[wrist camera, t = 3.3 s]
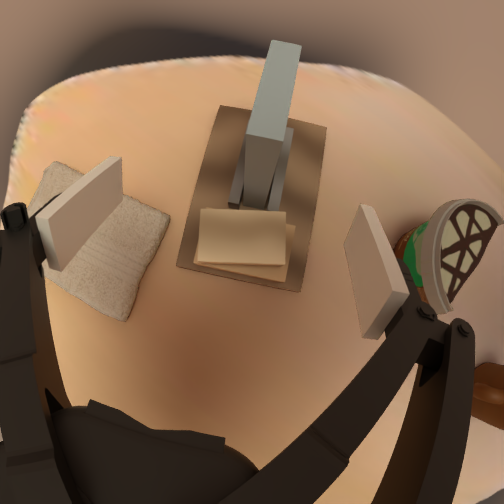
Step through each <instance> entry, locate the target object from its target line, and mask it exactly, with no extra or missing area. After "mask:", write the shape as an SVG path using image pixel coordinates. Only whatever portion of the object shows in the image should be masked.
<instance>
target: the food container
mask: <svg viewBox="0 0 504 504" xmlns="http://www.w3.org/2000/svg"><path fill="white" fill-rule="evenodd" d="M501 224H504V220H503V218H502V217H501V216H500V214H499V213H498V212H497V211H496V210H495V209H494V208H493V207H491V206H490V205H488V204H487V203H485V202H482V201H479V200H475V199H459V200H452V201H449V202H447V203H445V204H443V205H442V206H441V207H439V208H438V209H437V211H436V212H435V213H434V214H433V216H432V217H431V219H430V220H429V221H427V222H426V223H424V224H422V225H420V226H418V227H417V228H415V229H413V230H411V231H409V232H408V233H406V234H404V235H403V236H402V237H401V238H400V239H399V241H398V242H397V244H396V246H395V248H394V250H393V253H394V255H395V257H396V258H399V259H402V260H403V261H404V263H405V264H406V265H407V266H408V268H409V270H410V273H411V276H412V277H413V280H414V282H415V285H416V287H417V290H418V292H419V295H420V297H421V300H422V301H424V302H426V303H427V304H429V305H430V306H431V307H432V308H433V309H434V310H435V312H436V314H437V315H438V314H445V313H447V312H448V311H453V308H452V307H451V305H450V304H451V302H452V301H453V299H454V297H455V296H456V294H457V293H458V291H459V290H460V288H461V287H462V285H463V284H464V283H465V281H466V280H467V278H468V277H469V276H470V275H471V273H472V272H473V271H474V269H475V268H476V266H477V265H478V264H479V262H480V260H481V258H482V256H483V254H484V252H485V249H486V247H487V245H488V243H489V241H490V239H491V237H492V235H493V233H494V232H495V230H496V228H497V226H499V225H501Z"/></svg>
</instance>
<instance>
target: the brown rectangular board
mask: <svg viewBox="0 0 504 504" xmlns="http://www.w3.org/2000/svg"><path fill="white" fill-rule="evenodd" d="M251 113H252V110H246V109H241V108H235V107H228V106H222V105H220V107H219V110H218V113H217V116H216V119H215V123H214V126H213V129H212V132H211V135H210V139H209V142H208V145H207V149H206V152H205V155H204V159H203V162H202V166H201V169H200V173H199V176H198V180H197V183H196V187H195V191H194V194H193V198H192V202H191V206H190V210H189V213H188V217H187V221H186V225H185V229H184V233H183V238H182V242H181V246H180V250H179V254H178V259H177V263H176V266H178V267H182V268H186V269H191V270H195V271H200V272H204V273H209V274H213V275H218V276H223V277H227V278H232V279H237V280H241V281H246V282H251V283H256V284H261V285H265V286H270V287H275V288H280V289H285V290H290V291H295V292H301V287H302V282H303V277H304V272H305V266H306V261H307V256H308V250H309V244H310V239H311V233H312V227H313V221H314V215H315V209H316V202H317V196H318V189H319V182H320V176H321V169H322V161H323V154H324V146H325V138H326V130H327V127H323V126H319V125H315V124H312V123H308V122H303V121H299V120H295V119H291V118H288V120H287V125H286V130H285V135H284V140H283V144H282V148H281V151H280V154H279V158H278V161H277V165H276V168H275V172H274V175H273V179H272V182H271V185H270V189H269V192H268V196H267V199H266V203H265V206H264V210H262V209H257V208H252V207H247V206H243V194H244V170H245V147H246V132H247V128H248V124H249V121H250V117H251ZM206 207H208V208H213V209H230V210H257V211H279V212H286V224H289V225H294V226H296V227H295V232H294V238H293V243H292V249H291V254H290V259H289V264H288V269H287V274H286V280H285V282H283V283H279V282H274V281H269V280H265V279H260V278H255V277H250V276H245V275H241V274H236V273H231V272H227V271H222V270H217V269H213V268H208V267H204V266H199V265H196V264H195V263H193V262H194V257H195V253H196V248H197V244H198V240H199V226H200V211H201V209H206Z"/></svg>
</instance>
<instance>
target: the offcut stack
mask: <svg viewBox="0 0 504 504" xmlns="http://www.w3.org/2000/svg"><path fill="white" fill-rule="evenodd" d="M295 227H296V226H294V225H289V224H286V212H279V211H257V210H230V209H213V208H208V207H206V209H201V211H200V226H199V240H198V244H197V248H196V253H195V257H194V262H193V263H195V264H196V265H199V266H204V267H208V268H213V269H217V270H222V271H227V272H231V273H236V274H241V275H245V276H250V277H255V278H260V279H265V280H269V281H274V282H279V283H283V282H285V280H286V274H287V269H288V264H289V259H290V254H291V249H292V243H293V238H294V232H295Z"/></svg>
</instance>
